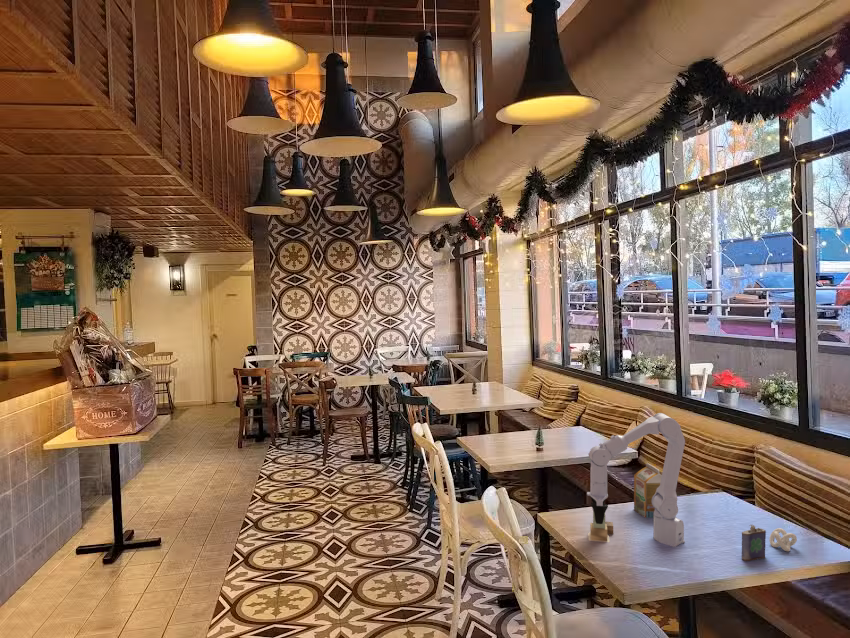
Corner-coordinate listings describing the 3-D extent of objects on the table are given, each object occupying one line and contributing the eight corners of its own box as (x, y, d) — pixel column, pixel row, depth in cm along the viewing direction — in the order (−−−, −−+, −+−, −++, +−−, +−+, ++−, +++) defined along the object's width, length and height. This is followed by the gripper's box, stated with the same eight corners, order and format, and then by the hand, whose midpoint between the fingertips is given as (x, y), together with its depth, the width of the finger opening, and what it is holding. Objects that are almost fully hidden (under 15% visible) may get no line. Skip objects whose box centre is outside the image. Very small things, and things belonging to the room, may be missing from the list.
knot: (762, 545, 203) (762, 528, 203) (779, 541, 206) (779, 525, 206) (782, 553, 196) (782, 536, 196) (799, 550, 199) (799, 532, 199)
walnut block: (612, 530, 216) (612, 522, 216) (613, 534, 212) (613, 526, 212) (601, 529, 217) (601, 521, 217) (601, 533, 213) (601, 525, 213)
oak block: (606, 535, 211) (606, 524, 211) (607, 541, 206) (607, 529, 206) (590, 533, 212) (590, 522, 212) (590, 539, 207) (590, 528, 207)
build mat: (637, 540, 208) (637, 538, 208) (615, 551, 199) (615, 549, 199) (601, 528, 219) (601, 526, 219) (578, 538, 209) (578, 536, 209)
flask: (746, 561, 190) (746, 528, 190) (738, 558, 193) (738, 525, 193) (767, 557, 193) (767, 525, 193) (759, 554, 196) (760, 522, 196)
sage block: (604, 524, 210) (604, 510, 210) (605, 528, 206) (605, 514, 206) (593, 523, 211) (593, 509, 211) (593, 527, 207) (593, 513, 207)
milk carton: (634, 509, 239) (634, 463, 238) (659, 509, 240) (659, 462, 239) (645, 519, 228) (645, 470, 228) (672, 518, 229) (672, 469, 229)
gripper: (586, 474, 216) (586, 511, 217) (587, 486, 202) (587, 526, 203) (606, 476, 215) (606, 513, 215) (609, 488, 201) (609, 527, 201)
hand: (598, 519), depth 209 cm, fingers open, 7 cm apart
